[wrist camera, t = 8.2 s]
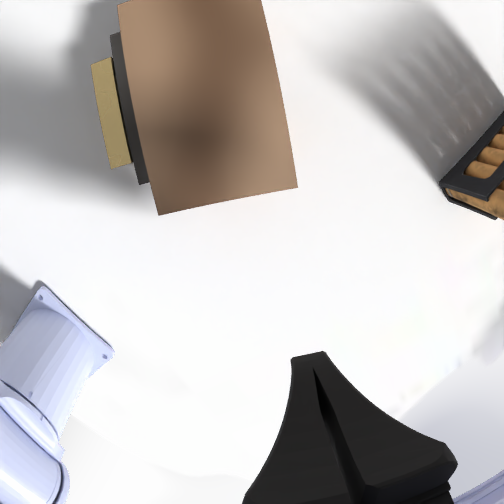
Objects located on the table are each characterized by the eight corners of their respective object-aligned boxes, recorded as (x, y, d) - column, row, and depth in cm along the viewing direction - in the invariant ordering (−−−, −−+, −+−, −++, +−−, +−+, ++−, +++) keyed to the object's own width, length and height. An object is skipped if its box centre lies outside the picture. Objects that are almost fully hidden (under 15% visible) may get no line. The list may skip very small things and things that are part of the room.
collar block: (172, 192, 18) (147, 218, 13) (141, 38, 15) (106, 9, 9) (279, 170, 18) (297, 187, 13) (248, 14, 14) (253, -28, 9)
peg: (142, 157, 17) (110, 168, 12) (126, 79, 15) (90, 65, 10) (273, 129, 17) (288, 128, 12) (257, 47, 15) (265, 19, 10)
